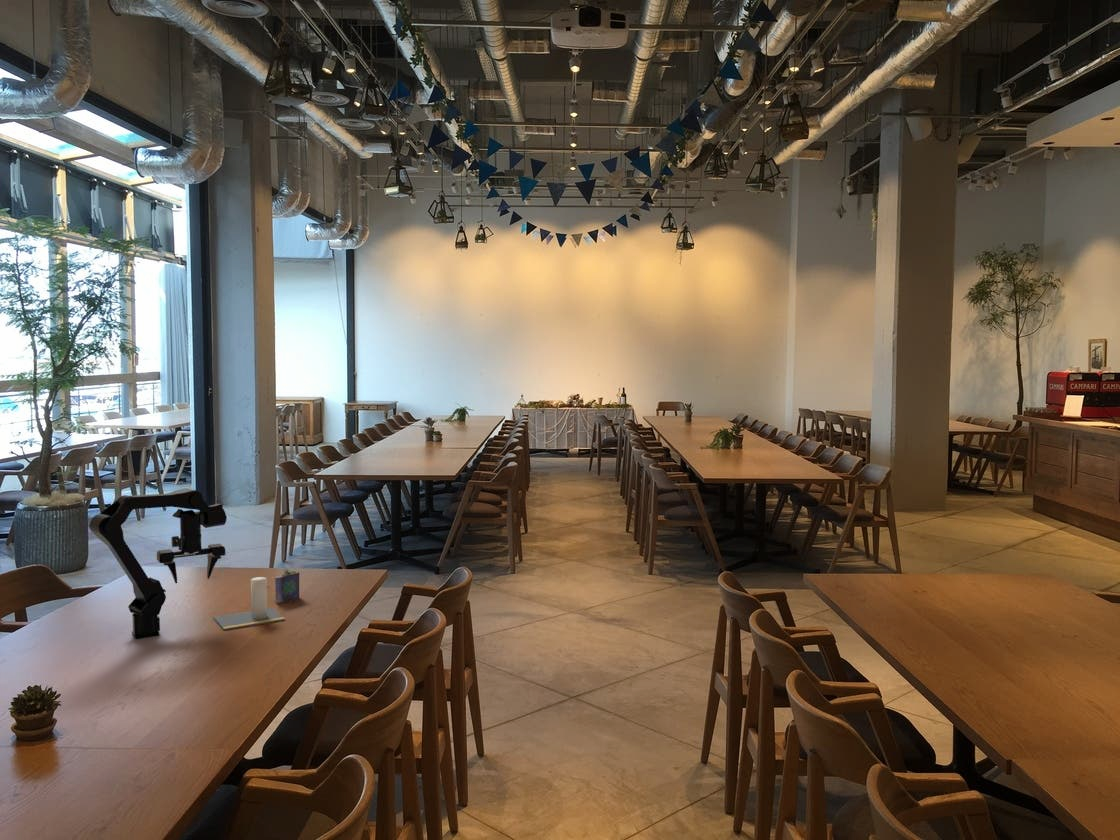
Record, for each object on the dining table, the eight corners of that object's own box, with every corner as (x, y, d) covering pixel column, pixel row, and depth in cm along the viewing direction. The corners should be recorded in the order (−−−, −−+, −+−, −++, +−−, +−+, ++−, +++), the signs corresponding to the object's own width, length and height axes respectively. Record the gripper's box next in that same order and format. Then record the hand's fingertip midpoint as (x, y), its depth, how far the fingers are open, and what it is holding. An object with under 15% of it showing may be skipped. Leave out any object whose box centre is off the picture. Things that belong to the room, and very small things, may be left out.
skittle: (259, 620, 267) (258, 581, 266) (248, 617, 269) (247, 579, 268) (270, 616, 271) (269, 578, 270) (260, 614, 273) (259, 576, 272)
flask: (278, 604, 285) (278, 572, 284) (272, 603, 287) (272, 571, 286) (301, 598, 293) (300, 566, 292) (295, 596, 294) (295, 565, 294)
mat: (224, 630, 258) (224, 628, 258) (213, 618, 270) (213, 616, 270) (285, 620, 269) (285, 618, 268) (272, 609, 280) (272, 607, 280)
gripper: (216, 522, 276) (218, 571, 277) (152, 529, 265) (154, 579, 266) (225, 528, 266) (226, 578, 268) (159, 535, 256) (160, 587, 257)
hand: (192, 580), depth 265 cm, fingers open, 9 cm apart
